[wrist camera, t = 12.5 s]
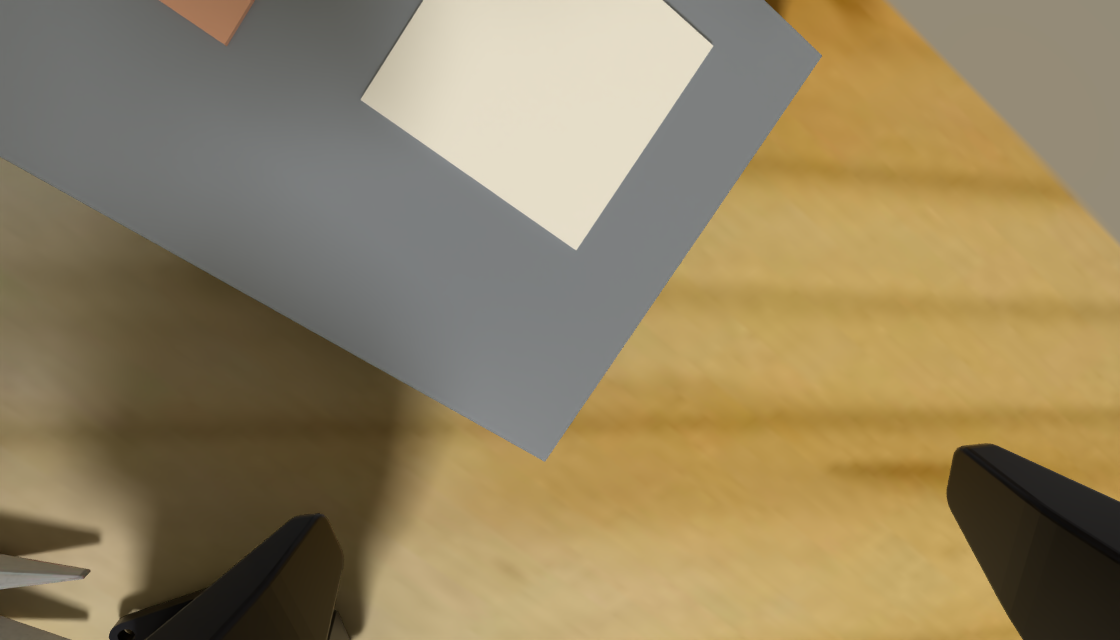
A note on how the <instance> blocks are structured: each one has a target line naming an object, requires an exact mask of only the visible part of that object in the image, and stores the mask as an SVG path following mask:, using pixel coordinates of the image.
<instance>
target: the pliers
mask: <svg viewBox="0 0 1120 640" xmlns="http://www.w3.org/2000/svg"><path fill="white" fill-rule="evenodd" d="M90 572H91V571H90V569H84V568H78V567H73V566H67V565H61V564H55V563H49V562H44V561H38V560H32V559H26V558H21V557H15V556H9V555H3V554H0V589H7V588H15V587H23V586H31V585H39V584H47V583H55V582H63V581H71V580H79V579H84V578H85V577H86V576H87V575H88V574H89V573H90ZM0 640H70V639H67V638H64V637H61V636H59V635H56V634H53V633H50V632H47V631H44V630H41V629H38V628H35V627H32V626H29V625H26V624H23V623H21V622H18V621H15V620H12V619H9V618H6V617H3V616H0Z"/></svg>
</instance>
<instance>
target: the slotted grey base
mask: <svg viewBox="0 0 1120 640" xmlns="http://www.w3.org/2000/svg"><path fill="white" fill-rule="evenodd" d="M821 57H822V55H821V54H820V53H819V52H818V51H817V50H816V49H815V48H813V47H812V46H811V45H810V44H809V43H808V42H807V41H806V40H805V39H804V38H803V37H802V36H801V35H800V34H799V33H798V32H797V31H796V30H795V29H794V28H793V27H792V26H791V25H790V24H788V23H787V22H786V21H785V20H784V19H783V18H782V17H781V16H780V15H779V14H778V13H777V12H776V11H775V10H774V9H773V8H772V7H771V6H770V5H769V4H768V3H767V2H766V1H765V0H0V157H1V158H3V159H5V160H7V161H9V162H10V163H12V164H14V165H16V166H18V167H19V168H21V169H23V170H25V171H27V172H28V173H30V174H32V175H34V176H35V177H37V178H39V179H41V180H43V181H44V182H46V183H48V184H50V185H52V186H53V187H55V188H57V189H59V190H60V191H62V192H64V193H66V194H68V195H69V196H71V197H73V198H75V199H77V200H78V201H80V202H82V203H84V204H85V205H87V206H89V207H91V208H93V209H94V210H96V211H98V212H100V213H102V214H103V215H105V216H107V217H109V218H110V219H112V220H114V221H116V222H118V223H119V224H121V225H123V226H125V227H127V228H128V229H130V230H132V231H134V232H135V233H137V234H139V235H141V236H143V237H144V238H146V239H148V240H150V241H152V242H153V243H155V244H157V245H159V246H161V247H162V248H164V249H166V250H168V251H169V252H171V253H173V254H175V255H177V256H178V257H180V258H182V259H184V260H186V261H187V262H189V263H191V264H193V265H194V266H196V267H198V268H200V269H202V270H203V271H205V272H207V273H209V274H211V275H212V276H214V277H216V278H218V279H219V280H221V281H223V282H225V283H227V284H228V285H230V286H232V287H234V288H236V289H237V290H239V291H241V292H243V293H244V294H246V295H248V296H250V297H252V298H253V299H255V300H257V301H259V302H261V303H262V304H264V305H266V306H268V307H269V308H271V309H273V310H275V311H277V312H278V313H280V314H282V315H284V316H286V317H287V318H289V319H291V320H293V321H295V322H296V323H298V324H300V325H302V326H303V327H305V328H307V329H309V330H311V331H312V332H314V333H316V334H318V335H320V336H321V337H323V338H325V339H327V340H328V341H330V342H332V343H334V344H336V345H337V346H339V347H341V348H343V349H345V350H346V351H348V352H350V353H352V354H353V355H355V356H357V357H359V358H361V359H362V360H364V361H366V362H368V363H370V364H371V365H373V366H375V367H377V368H378V369H380V370H382V371H384V372H386V373H387V374H389V375H391V376H393V377H395V378H396V379H398V380H400V381H402V382H403V383H405V384H407V385H409V386H411V387H412V388H414V389H416V390H418V391H420V392H421V393H423V394H425V395H427V396H429V397H430V398H432V399H434V400H436V401H437V402H439V403H441V404H443V405H445V406H446V407H448V408H450V409H452V410H454V411H455V412H457V413H459V414H461V415H462V416H464V417H466V418H468V419H470V420H471V421H473V422H475V423H477V424H479V425H480V426H482V427H484V428H486V429H487V430H489V431H491V432H493V433H495V434H496V435H498V436H500V437H502V438H504V439H505V440H507V441H509V442H511V443H512V444H514V445H516V446H518V447H520V448H521V449H523V450H525V451H527V452H529V453H530V454H532V455H534V456H536V457H537V458H539V459H541V460H543V461H546V459H547V458H548V456H549V455H550V453H551V452H552V450H553V449H554V448H555V446H556V445H557V443H558V442H559V440H560V439H561V437H562V436H563V434H564V433H565V431H566V430H567V429H568V427H569V426H570V424H571V423H572V421H573V420H574V418H575V417H576V415H577V414H578V412H579V411H580V409H581V408H582V407H583V405H584V404H585V402H586V401H587V399H588V398H589V396H590V395H591V393H592V392H593V390H594V389H595V388H596V386H597V385H598V383H599V382H600V380H601V379H602V377H603V376H604V374H605V373H606V371H607V370H608V368H609V367H610V366H611V364H612V363H613V361H614V360H615V358H616V357H617V355H618V354H619V352H620V351H621V349H622V348H623V347H624V345H625V344H626V342H627V341H628V339H629V338H630V336H631V335H632V333H633V332H634V330H635V329H636V328H637V326H638V325H639V323H640V322H641V320H642V319H643V317H644V316H645V314H646V313H647V311H648V310H649V308H650V307H651V306H652V304H653V303H654V301H655V300H656V298H657V297H658V295H659V294H660V292H661V291H662V289H663V288H664V287H665V285H666V284H667V282H668V281H669V279H670V278H671V276H672V275H673V273H674V272H675V270H676V269H677V267H678V266H679V265H680V263H681V262H682V260H683V259H684V257H685V256H686V254H687V253H688V251H689V250H690V248H691V247H692V246H693V244H694V243H695V241H696V240H697V238H698V237H699V235H700V234H701V232H702V231H703V229H704V228H705V227H706V225H707V224H708V222H709V221H710V219H711V218H712V216H713V215H714V213H715V212H716V210H717V209H718V207H719V206H720V205H721V203H722V202H723V200H724V199H725V197H726V196H727V194H728V193H729V191H730V190H731V188H732V187H733V186H734V184H735V183H736V181H737V180H738V178H739V177H740V175H741V174H742V172H743V171H744V169H745V168H746V166H747V165H748V164H749V162H750V161H751V159H752V158H753V156H754V155H755V153H756V152H757V150H758V149H759V147H760V146H761V145H762V143H763V142H764V140H765V139H766V137H767V136H768V134H769V133H770V131H771V130H772V128H773V127H774V126H775V124H776V123H777V121H778V120H779V118H780V117H781V115H782V114H783V112H784V111H785V109H786V108H787V106H788V105H789V104H790V102H791V101H792V99H793V98H794V96H795V95H796V93H797V92H798V90H799V89H800V87H801V86H802V85H803V83H804V82H805V80H806V79H807V77H808V76H809V74H810V73H811V71H812V70H813V68H814V67H815V65H816V64H817V63H818V61H819V60H820V58H821Z"/></svg>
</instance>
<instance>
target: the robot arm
mask: <svg viewBox="0 0 1120 640" xmlns="http://www.w3.org/2000/svg"><path fill="white" fill-rule="evenodd" d="M947 501H948V505H949V507H950V510H951V512H952V514H953V515H954V517H955V519H956V521H957V523H958V525H959V527H960V529H961V530H962V532H963V534H964V536H965V538H966V540H967V542H968V543H969V545H970V547H971V549H972V551H973V553H974V555H975V557H976V558H977V560H978V562H979V564H980V566H981V568H982V570H983V571H984V573H985V575H986V577H987V579H988V581H989V583H990V585H991V586H992V588H993V590H994V592H995V594H996V596H997V598H998V599H999V601H1000V603H1001V605H1002V606H1003V608H1004V610H1005V612H1006V613H1007V615H1008V617H1009V619H1010V620H1011V622H1012V623H1013V625H1014V626H1015V628H1016V630H1017V631H1018V633H1019V634H1020V636H1021V637H1022V639H1023V640H1120V502H1119V501H1117V500H1115V499H1113V498H1110V497H1108V496H1106V495H1104V494H1102V493H1100V492H1097V491H1095V490H1093V489H1091V488H1089V487H1086V486H1084V485H1082V484H1080V483H1078V482H1076V481H1073V480H1071V479H1069V478H1067V477H1065V476H1062V475H1060V474H1058V473H1056V472H1054V471H1051V470H1049V469H1047V468H1045V467H1043V466H1041V465H1038V464H1036V463H1034V462H1032V461H1030V460H1027V459H1025V458H1023V457H1021V456H1019V455H1017V454H1014V453H1012V452H1010V451H1008V450H1006V449H1003V448H1001V447H999V446H997V445H994V444H987V443H985V444H975V445H965V446H961V447H958V448H957V449H956V451H955V452H954V455H953V459H952V465H951V470H950V475H949V480H948V485H947ZM342 570H343V552H342V549H341V547H340V545H339V543H338V540H337V538H336V536H335V534H334V532H333V529H332V527H331V525H330V523H329V521H328V519H327V517H326V516H325V515H323V514H320V513H315V514H306V515H299V516H295V517H293V518H292V519H291V520H289V521H288V522H287V523H286V524H284V525H283V526H282V527H281V528H280V529H278V530H277V531H276V532H275V533H274V534H272V535H271V536H270V537H269V538H267V539H266V540H265V541H264V542H263V543H261V544H260V545H259V546H258V547H257V548H255V549H254V550H253V551H252V552H251V553H249V554H248V555H247V556H246V557H245V558H243V559H242V560H241V561H240V562H238V563H237V564H236V565H235V566H234V567H232V568H231V569H230V570H229V571H228V572H226V573H225V574H224V575H223V576H222V577H220V578H219V579H218V580H217V581H215V582H214V583H213V584H212V585H211V586H209V587H208V588H206V589H204V590H201V591H198V592H195V593H192V594H189V595H186V596H183V597H180V598H177V599H174V600H171V601H168V602H165V603H162V604H159V605H156V606H153V607H150V608H147V609H144V610H141V611H138V612H135V613H132V614H129V615H126V616H124V617H122V618H120V620H119V621H118V622H117V623H116V624H115V626H114V627H113V628H112V630H111V631H110V634H109V639H110V640H350V639H349V637H348V634H347V632H346V630H345V627H344V625H343V622H342V620H341V618H340V615H339V613H338V611H337V610H335V609H334V606H335V601H336V597H337V592H338V588H339V583H340V579H341V574H342ZM125 629H128V630H132V631H133V632H134V633H135V634H129V633H127V632H126V631H125Z"/></svg>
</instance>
